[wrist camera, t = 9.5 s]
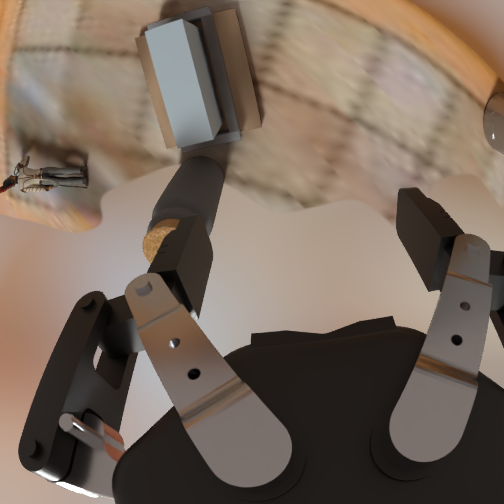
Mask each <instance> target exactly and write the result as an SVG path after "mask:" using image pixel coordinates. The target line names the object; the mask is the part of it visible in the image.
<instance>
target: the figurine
mask: <svg viewBox="0 0 504 504" xmlns="http://www.w3.org/2000/svg"><path fill="white" fill-rule="evenodd" d="M29 159H30V157H29V156H26V157H24V158H23V159H22V160H21V162H20V163H18V164H17V166H16V168H17V170H18V172H19V176H17V175H16V174H17V173H18V172H17V173H16V174H15V171H14V175H16V176H12V175H11V176H10V177H9V178H7V179H6V180H5V181H4V182H3V186H2V187H0V193H1V192H4V191H6V190H7V189H9V188H11V187H13V186H14V187H15V184H19V187H20V190H21V191H22V192H24V193H25V192H26V191H37V192H39V191H49V190H50V189H52V188H53V187H57V186H63V187H78V186H65V185H63V184H71V185H72V184H79V183H82V184H85V185H86V186H88V180H87V178H86V177H67V178H65V177H56V176H54V175H63V174H66V175H73V174H84V172H85V171H86V166H84V167H65V168H57V167H46V168H40V169H37V170H34V169H30V168H27V166H28V163H29ZM16 168H15V170H16ZM44 184H49V185H44ZM79 188H87V187H79Z"/></svg>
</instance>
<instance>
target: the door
mask: <svg viewBox="0 0 504 504" xmlns="http://www.w3.org/2000/svg"><path fill="white" fill-rule="evenodd" d="M145 35H146V39H147V43H148V47H149V51H150V54H151V58H152V62H153V65H154V69H155V73H156V76H157V80H158V83H159V87H160V90H161V94H162V97H163V101H164V104H165V108H166V111H167V114H168V118H169V121H170V124H171V128H172V131H173V134H174V138H175V141H176V144H177V147H178V148H181V147H185V146H189V145H193V144H197V143H201V142H205V141H210V140H214V138H215V136H216V134H217V132H218V131H219V129H220V127H221V125H222V123H223V122H224V120H223V116H222V112H221V108H220V104H219V100H218V96H217V92H216V88H215V84H214V80H213V77H212V73H211V69H210V65H209V61H208V57H207V53H206V49H205V45H204V41H203V37H202V33H201V29H200V28H198V27H196V26H194V25H193V24H191V23H189V22H187V21H185V20H183V19H180V20H177V21H173V22H170V23H167V24H165V25H162V26H159V27H156V28H153V29H151V30H148V31H145Z"/></svg>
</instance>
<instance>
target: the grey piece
mask: <svg viewBox="0 0 504 504" xmlns="http://www.w3.org/2000/svg"><path fill="white" fill-rule="evenodd" d="M180 19H183V20H185V21H187V22H189V23H191V24H193V25H194V26H196V27H198V28H200V29H201V33H202V37H203V41H204V45H205V49H206V53H207V57H208V61H209V65H210V69H211V73H212V77H213V80H214V84H215V88H216V92H217V96H218V100H219V104H220V108H221V112H222V116H223V120H224V122H223V123H222V125H221V127H220V129H219V131H218V132H217V134H216V136H215V138H214V140H210V141H205V142H201V143H197V144H193V145H189V146H185V147H181V150H182V153H185V152H189V151H193V150H197V149H201V148H205V147H210V146H214V145H219V144H223V143H228V142H233V141H238V140H241V137H242V134H241V131H244V130H249V129H255V128H260V127H262V125H261V120H260V115H259V110H258V106H257V101H256V96H255V92H254V87H253V82H252V78H251V73H250V69H249V65H248V60H247V56H246V52H245V47H244V43H243V39H242V35H241V30H240V26H239V22H238V18H237V14H236V10H235V8H234V9H229V10H225V11H220V12H216V13H212V9H211V8H210V7H209V6H207V7H203V8H199V9H196V10H192V11H189V12H185V13H182V14H179V15H176V16H173V17H169V18H167V19H164V20H161V21H158V22H155V23H152V24H150V25H147V28H148V30H151V29H153V28H156V27H159V26H162V25H165V24H167V23H170V22H173V21H177V20H180ZM135 41H136V44H137V48H138V52H139V56H140V60H141V63H142V67H143V70H144V74H145V78H146V81H147V85H148V88H149V92H150V95H151V99H152V102H153V105H154V109H155V112H156V115H157V119H158V122H159V125H160V129H161V132H162V135H163V138H164V141H165V145H166V148H167V149H168V148H171V147H175V146H177V144H176V141H175V138H174V134H173V131H172V128H171V124H170V121H169V118H168V114H167V111H166V108H165V104H164V101H163V97H162V94H161V90H160V87H159V83H158V80H157V76H156V73H155V69H154V65H153V62H152V58H151V54H150V51H149V47H148V43H147V39H146V35H142V36H140V37H137V38H135Z"/></svg>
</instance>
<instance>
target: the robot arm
mask: <svg viewBox="0 0 504 504" xmlns="http://www.w3.org/2000/svg"><path fill="white" fill-rule="evenodd" d="M484 130H485V135H486V138H487V140H488V142H489V144H490V145H491V146H492V147H493V148H494V149H496V150H497V151H499V152H500V153H502V154H504V93H498V94H496V95H494V96H493V97H492V98H491V99H490V101H489V102H488V104H487V107H486V109H485V114H484ZM396 229H397V234H398V236H399V239H400V240H401V242H402V243H403V245H404V247H405V249H406V251H407V252H408V254H409V256H410V258H411V259H412V261H413V263H414V265H415V267H416V269H417V271H418V273H419V274H420V276H421V278H422V280H423V282H424V284H425V286H426V288H427V290H428V292H430V291H435V290H440V292H441V294H440V297H439V300H438V303H437V306H436V309H435V312H434V315H433V318H432V321H431V323H430V326H429V329H428V332H427V334H424V333H422V332H420V331H417V330H415V329H411V328H407V327H401V326H396V325H395V322H394V319H393V316H389V317H383V318H377V319H371V320H365V321H359V322H356V323H354V324H351V325H348V326H346V327H343V328H340V329H337V330H335V331H332V332H329V333H326V334H318V333H307V332H296V331H287V330H286V331H276V332H265V333H252V334H251V344H250V345H247V346H244V347H242V348H239V349H237V350H235V351H233V352H231V353H229V354H228V355H226V356H225V357H222V356H221V355H220V353H219V352H218V351H217V350H216V348H215V347H214V346H213V344H212V343H211V342H210V340H209V339H208V338H207V337H206V335H205V334H204V333H203V331H202V330H201V329H200V327H199V326H198V325H197V323H196V322H195V320H194V319H199V315H200V311H201V307H202V302H203V298H204V294H205V289H206V285H207V281H208V277H209V273H210V269H211V265H212V261H213V250H212V245H211V242H210V239H209V236H208V233H207V230H206V226H205V223H204V220H203V217H202V215H201V214H194V215H188V216H183V217H181V219H180V221H179V223H178V225H177V228H176V230H172V231H171V232H169V233H168V234H167V235H166V236H165V237H164V239H163V241H162V243H161V245H160V247H159V249H158V251H157V254H156V255H155V257H154V259H153V261H152V263H151V265H150V267H149V269H148V272H147V273H146V274H143V275H140V276H139V277H137V278H135V279H134V280H132V281H131V282H130V283H129V284H128V286H127V287H126V289H125V295H122V296H119V297H116V298H114V299H110V300H107V298H106V297H105V295H104V294H103V293H102V292H100V291H93V292H90V293H88V294H86V295H84V296H83V297H82V298H81V299H80V300H79V301H78V302H77V303H76V305H75V306H74V308H73V310H72V312H71V314H70V316H69V318H68V320H67V322H66V324H65V326H64V328H63V330H62V332H61V335H60V337H59V339H58V341H57V343H56V346H55V348H54V350H53V352H52V354H51V357H50V359H49V361H48V364H47V366H46V369H45V371H44V374H43V376H42V378H41V381H40V383H39V386H38V389H37V391H36V394H35V397H34V400H33V402H32V405H31V408H30V411H29V414H28V417H27V420H26V423H25V426H24V429H23V432H22V436H21V439H20V443H19V449H18V454H19V459H20V462H21V463H22V465H23V466H24V468H26V469H27V470H29V471H31V472H33V473H35V474H37V475H39V476H41V477H43V478H45V479H46V480H47V481H49V482H52V483H54V484H56V485H59V486H61V487H64V488H66V489H68V490H71V491H73V492H79V493H82V494H84V495H87V496H91V497H100V496H103V497H107V498H110V499H114V500H115V503H116V504H504V389H503V388H502V387H500V386H499V385H498V384H496V383H495V382H493V381H492V380H491V379H490V378H488V377H487V376H485V375H484V374H483V373H481V372H480V371H479V367H480V363H481V358H482V354H483V349H484V344H485V339H486V333H487V328H488V321H489V316H490V318H491V320H492V322H493V324H494V327H495V329H496V331H497V333H498V336H499V338H500V340H501V343H502V345H503V347H504V252H501V251H493V250H490V247H489V245H488V244H487V242H486V241H485V240H483V239H482V238H480V237H478V236H476V235H473V234H465V233H464V232H463V231H462V229H460V227H459V226H458V225H457V223H456V222H455V221H454V220H453V219H452V218H450V215H448V213H447V212H445V210H444V209H443V208H442V207H441V205H440V204H439V203H437V202H435V201H433V200H432V199H430V198H427V197H426V196H425V195H424V194H423V193H422V192H421V191H420V190H419V189H418V188H417V187H414V188H402V189H399V192H398V202H397V217H396ZM97 346H99V347H100V348H101V350H102V353H101V356H100V359H99V362H98V365H97V368H96V370H95V368H94V365H93V358H94V355H95V352H96V349H97ZM143 350H146V352H147V354H148V356H149V358H150V360H151V362H152V364H153V366H154V368H155V370H156V372H157V374H158V376H159V378H160V380H161V382H162V384H163V386H164V388H165V390H166V391H167V393H168V395H169V397H170V399H171V401H172V403H173V404H174V406H173V407H172V408H171V409H170V410H169V411H168V412H167V413H166V414H165V415H164V416H163V417H162V418H161V419H160V420H159V421H157V422H156V423H155V424H154V425H153V426H152V427H151V428H150V429H149V430H148V431H147V432H146V433H145V434H144V435H143V436H142V437H141V438H139V439H138V440H137V441H136V442H135V443H134V444H133V445H132V446H131V447H130V448H129V449H127V451H125V449H124V442H123V438H122V437H121V435H120V434H119V430H120V425H121V421H122V416H123V411H124V407H125V403H126V398H127V394H128V390H129V386H130V382H131V378H132V374H133V370H134V367H135V363H136V359H137V355H138V352H139V351H143Z"/></svg>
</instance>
